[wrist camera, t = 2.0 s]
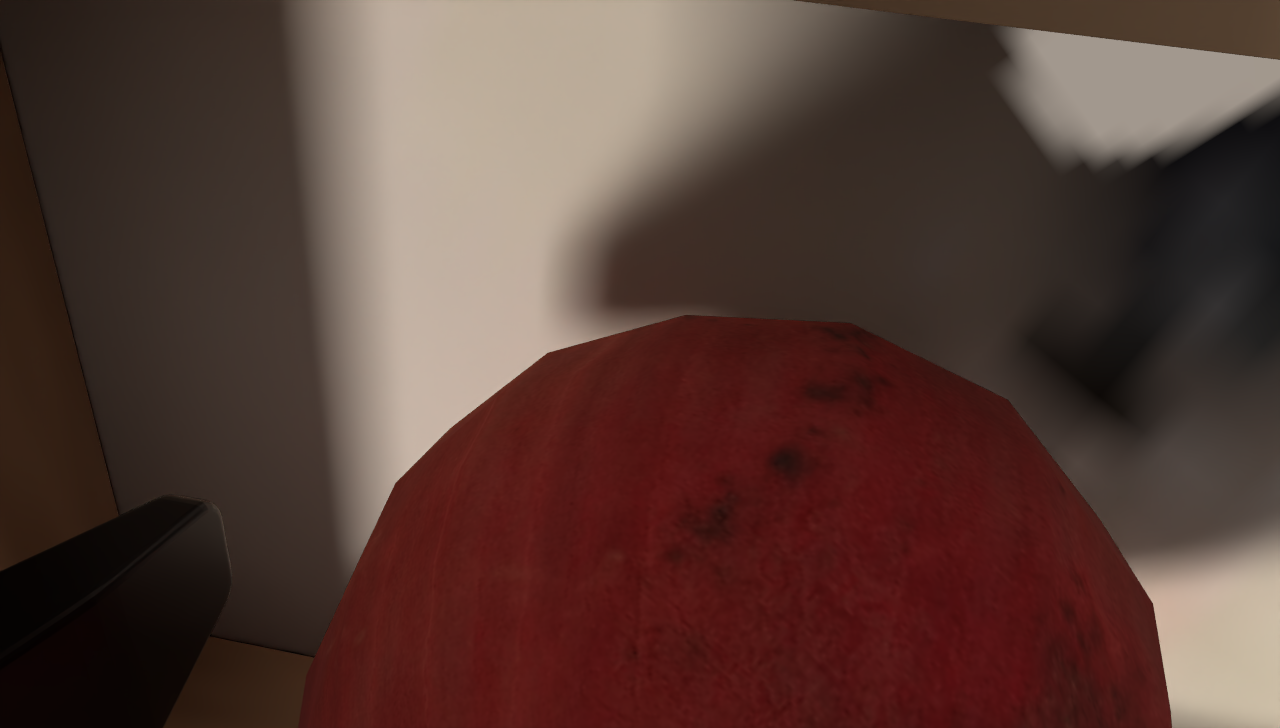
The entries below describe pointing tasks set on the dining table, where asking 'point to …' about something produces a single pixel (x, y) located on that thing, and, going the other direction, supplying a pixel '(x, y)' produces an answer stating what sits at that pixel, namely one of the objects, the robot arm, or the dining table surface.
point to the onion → (739, 553)
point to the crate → (61, 412)
